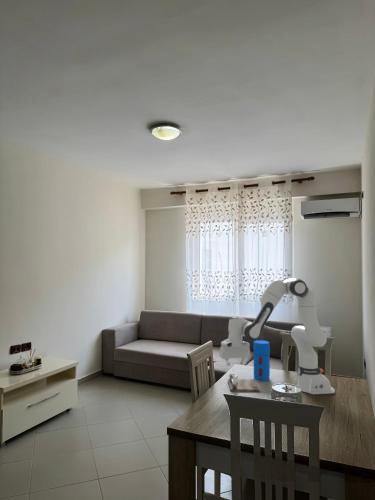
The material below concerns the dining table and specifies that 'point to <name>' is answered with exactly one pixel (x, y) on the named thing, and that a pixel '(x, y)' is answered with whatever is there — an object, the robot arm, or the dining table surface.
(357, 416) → the dining table surface
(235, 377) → the lever
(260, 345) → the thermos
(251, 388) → the press base
